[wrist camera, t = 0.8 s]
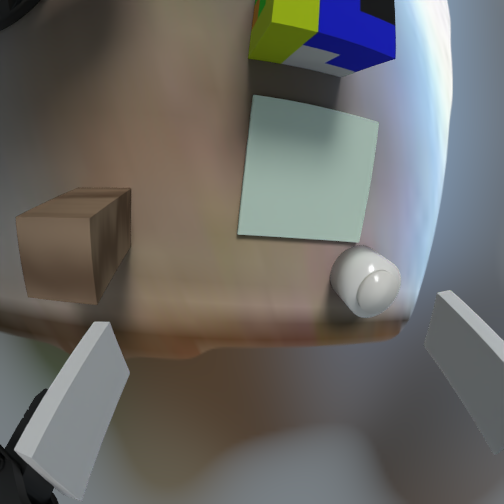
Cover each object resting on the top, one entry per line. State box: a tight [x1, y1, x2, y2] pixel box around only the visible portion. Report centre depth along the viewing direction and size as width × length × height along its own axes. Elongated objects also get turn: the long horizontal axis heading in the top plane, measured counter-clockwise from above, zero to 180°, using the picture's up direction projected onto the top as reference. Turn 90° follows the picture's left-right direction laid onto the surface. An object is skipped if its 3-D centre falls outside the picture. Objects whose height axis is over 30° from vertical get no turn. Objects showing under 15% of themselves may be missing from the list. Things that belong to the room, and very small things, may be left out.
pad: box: [237, 95, 379, 243], centre depth 29 cm, size 14×14×1 cm
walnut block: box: [16, 188, 131, 305], centre depth 22 cm, size 6×6×12 cm
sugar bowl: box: [330, 245, 401, 318], centre depth 32 cm, size 7×7×6 cm
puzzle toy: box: [248, 0, 396, 77], centre depth 19 cm, size 10×10×10 cm
